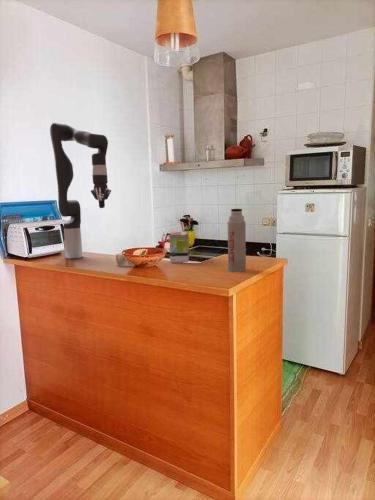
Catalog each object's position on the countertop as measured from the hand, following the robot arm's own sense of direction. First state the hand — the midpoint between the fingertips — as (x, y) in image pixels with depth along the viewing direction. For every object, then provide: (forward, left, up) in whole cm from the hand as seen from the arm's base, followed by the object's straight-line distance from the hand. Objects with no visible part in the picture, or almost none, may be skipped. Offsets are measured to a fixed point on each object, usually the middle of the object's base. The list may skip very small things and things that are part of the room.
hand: (102, 207), depth 195 cm
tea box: (+34, +21, -29) cm, 50 cm away
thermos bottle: (+72, +11, -29) cm, 78 cm away
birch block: (+11, -2, -26) cm, 29 cm away
